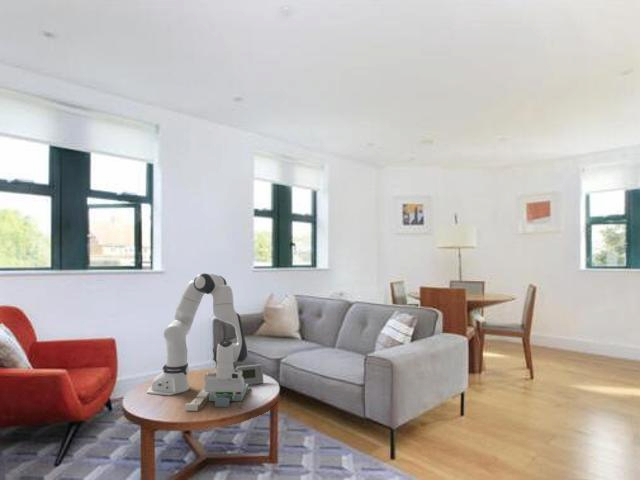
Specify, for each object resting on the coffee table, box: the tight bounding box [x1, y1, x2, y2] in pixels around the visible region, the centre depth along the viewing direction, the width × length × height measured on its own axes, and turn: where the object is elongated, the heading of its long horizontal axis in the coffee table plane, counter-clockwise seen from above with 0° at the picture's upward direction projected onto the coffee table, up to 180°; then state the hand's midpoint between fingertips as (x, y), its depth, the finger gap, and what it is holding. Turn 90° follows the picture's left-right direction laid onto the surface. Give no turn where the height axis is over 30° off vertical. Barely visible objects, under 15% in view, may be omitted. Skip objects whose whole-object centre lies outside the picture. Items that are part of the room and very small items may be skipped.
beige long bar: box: [184, 388, 211, 412], centre depth 198 cm, size 6×26×3 cm, turn 0°
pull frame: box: [208, 384, 249, 408], centre depth 202 cm, size 18×25×4 cm
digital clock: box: [235, 363, 264, 386], centre depth 224 cm, size 16×9×11 cm, turn 102°
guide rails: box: [199, 387, 252, 410], centre depth 201 cm, size 20×28×1 cm
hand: (224, 400), depth 194 cm, fingers open, 7 cm apart
